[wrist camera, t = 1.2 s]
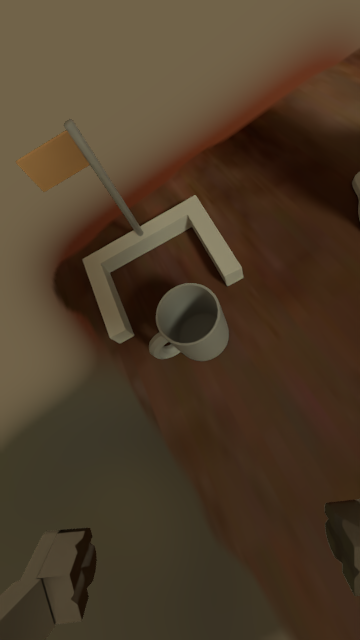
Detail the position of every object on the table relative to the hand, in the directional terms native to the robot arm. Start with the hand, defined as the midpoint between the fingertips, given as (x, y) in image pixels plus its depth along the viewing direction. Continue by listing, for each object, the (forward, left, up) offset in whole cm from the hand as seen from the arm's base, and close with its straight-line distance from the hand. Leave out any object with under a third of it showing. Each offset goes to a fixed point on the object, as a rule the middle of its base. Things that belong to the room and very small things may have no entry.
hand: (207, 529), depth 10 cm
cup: (-5, -14, -26) cm, 30 cm away
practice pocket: (-10, -26, -26) cm, 38 cm away
